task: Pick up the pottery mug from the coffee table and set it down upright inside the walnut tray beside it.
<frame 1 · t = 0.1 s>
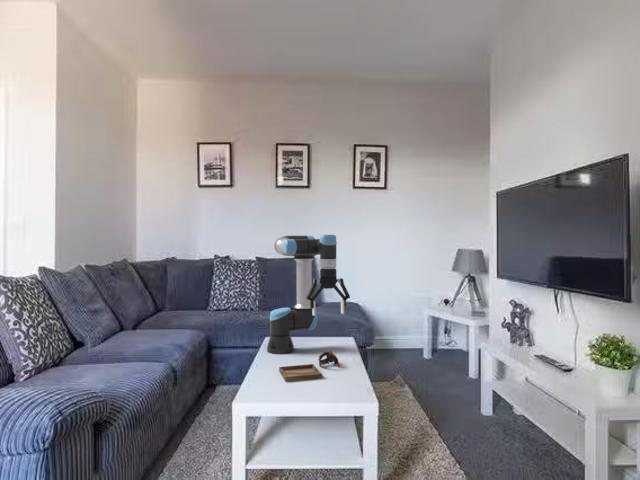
hand: (328, 314, 191), 28 cm above the table, tool pointing down, fingers open, 13 cm apart
walnut tray: (299, 374, 192), on the table
pottery mug: (329, 366, 205), on the table
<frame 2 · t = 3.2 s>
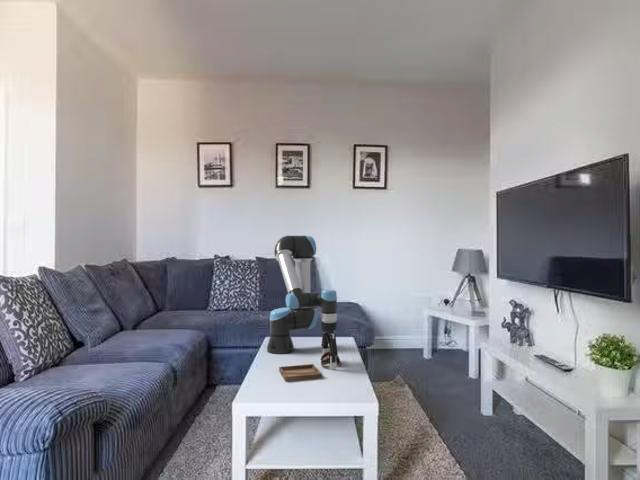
hand: (329, 365, 205), 0 cm above the table, tool pointing down, fingers open, 12 cm apart
pottery mug: (331, 366, 205), on the table, touching gripper
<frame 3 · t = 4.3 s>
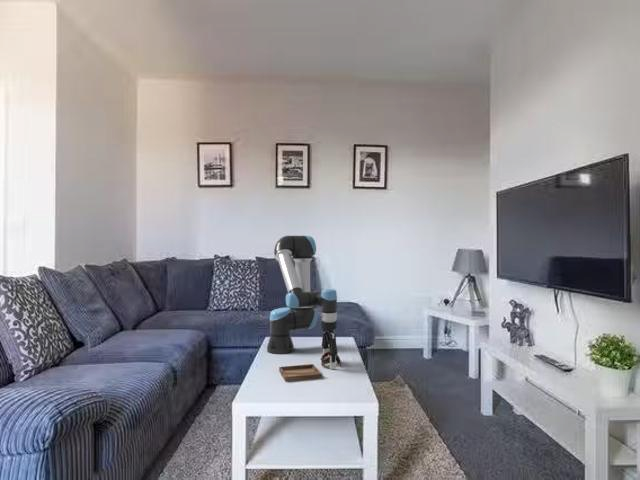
hand: (329, 365, 205), 0 cm above the table, tool pointing down, fingers open, 11 cm apart
nothing on the table moved.
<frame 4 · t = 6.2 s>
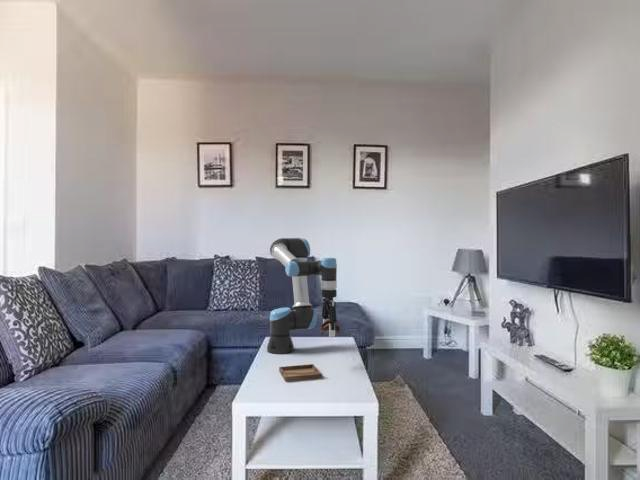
hand: (329, 334, 205), 16 cm above the table, tool pointing down, fingers closed on pottery mug, 10 cm apart
pottery mug: (331, 334, 206), point 15 cm above the table, touching gripper
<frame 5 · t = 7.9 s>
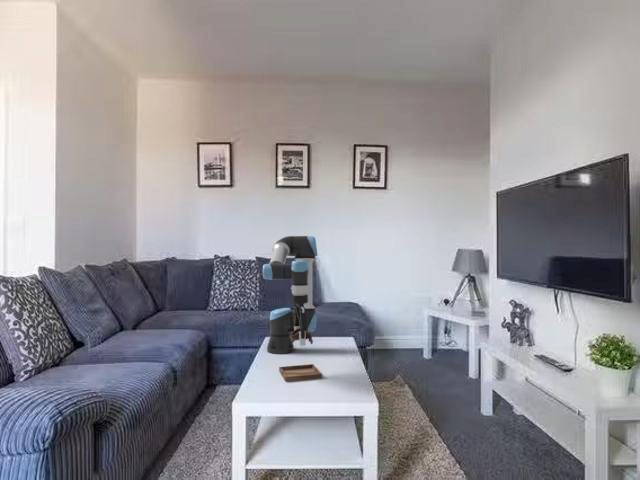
hand: (299, 342, 192), 15 cm above the table, tool pointing down, fingers closed on pottery mug, 10 cm apart
pottery mug: (302, 343, 193), point 14 cm above the table, touching gripper
when the fingers open (3 cm above the table, at t = 10.9 s): pottery mug drops 2 cm, resting on walnut tray.
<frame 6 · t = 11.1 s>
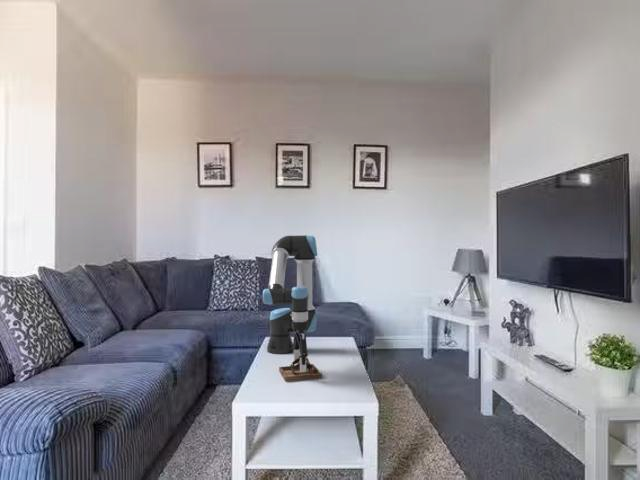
hand: (299, 367, 192), 3 cm above the table, tool pointing down, fingers open, 12 cm apart
pottery mug: (302, 373, 193), resting on walnut tray
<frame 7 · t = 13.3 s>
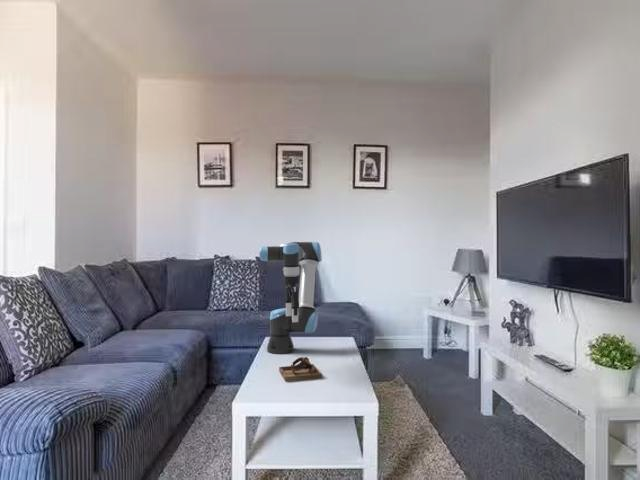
hand: (291, 318, 202), 24 cm above the table, tool pointing down, fingers open, 13 cm apart
nothing on the table moved.
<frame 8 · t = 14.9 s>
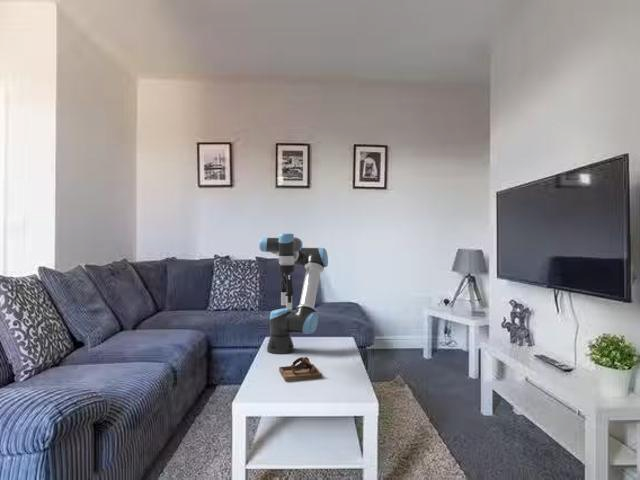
hand: (286, 307, 207), 29 cm above the table, tool pointing down, fingers open, 13 cm apart
nothing on the table moved.
at the end: pottery mug 1.7 cm off-centre on the walnut tray, point 0.4 cm above the walnut tray's base; pottery mug tilted 0°; the gripper is holding nothing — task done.
